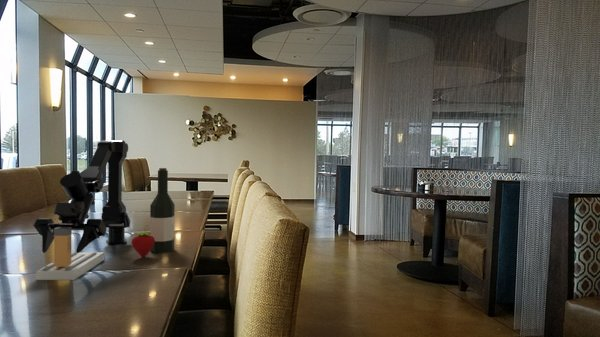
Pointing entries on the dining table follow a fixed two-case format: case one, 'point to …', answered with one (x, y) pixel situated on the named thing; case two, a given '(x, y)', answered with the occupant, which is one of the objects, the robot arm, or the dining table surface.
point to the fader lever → (62, 246)
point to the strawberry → (143, 243)
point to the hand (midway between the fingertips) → (60, 252)
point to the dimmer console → (71, 267)
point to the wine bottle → (162, 216)
